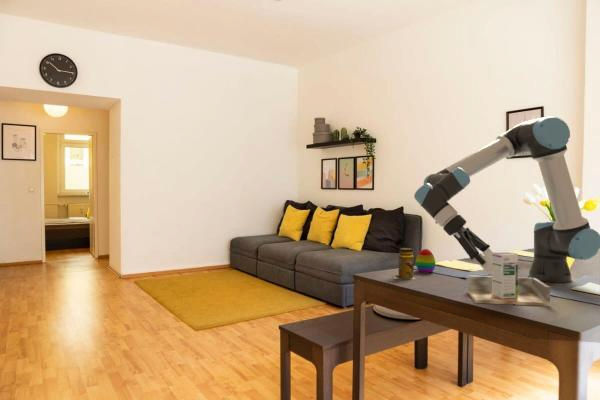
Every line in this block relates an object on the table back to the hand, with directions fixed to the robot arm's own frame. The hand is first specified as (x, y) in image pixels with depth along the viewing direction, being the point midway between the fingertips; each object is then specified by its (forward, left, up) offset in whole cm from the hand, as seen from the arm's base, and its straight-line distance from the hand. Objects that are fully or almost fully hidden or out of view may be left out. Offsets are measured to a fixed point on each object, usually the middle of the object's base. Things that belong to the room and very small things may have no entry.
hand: (496, 268), depth 148 cm
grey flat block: (-4, -1, -10) cm, 11 cm away
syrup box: (-3, +1, -9) cm, 10 cm away
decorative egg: (+18, -44, -11) cm, 49 cm away
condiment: (+28, -30, -11) cm, 43 cm away
